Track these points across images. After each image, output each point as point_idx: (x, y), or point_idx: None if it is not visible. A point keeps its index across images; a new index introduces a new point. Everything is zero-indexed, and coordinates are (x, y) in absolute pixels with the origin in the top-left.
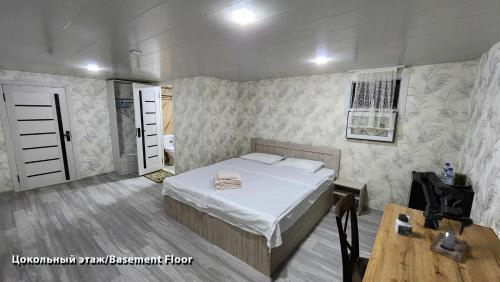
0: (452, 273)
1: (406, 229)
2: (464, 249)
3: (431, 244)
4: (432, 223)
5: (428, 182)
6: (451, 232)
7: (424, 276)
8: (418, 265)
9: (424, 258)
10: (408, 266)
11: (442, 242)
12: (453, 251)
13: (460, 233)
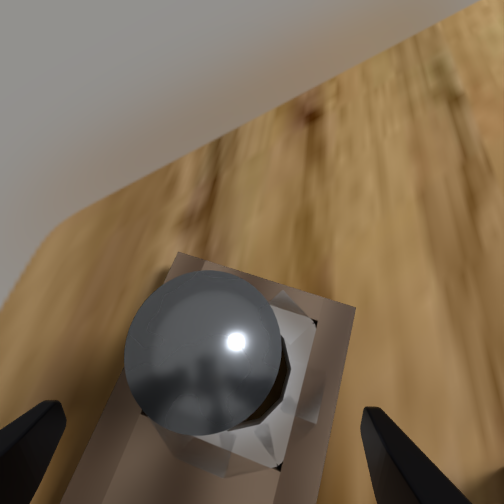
0: (250, 144)
1: None
2: (90, 438)
3: (348, 344)
4: None
5: None
6: (182, 350)
7: (361, 67)
8: (390, 119)
9: (369, 193)
10: (427, 91)
11: (254, 464)
12: None
13: (31, 419)
